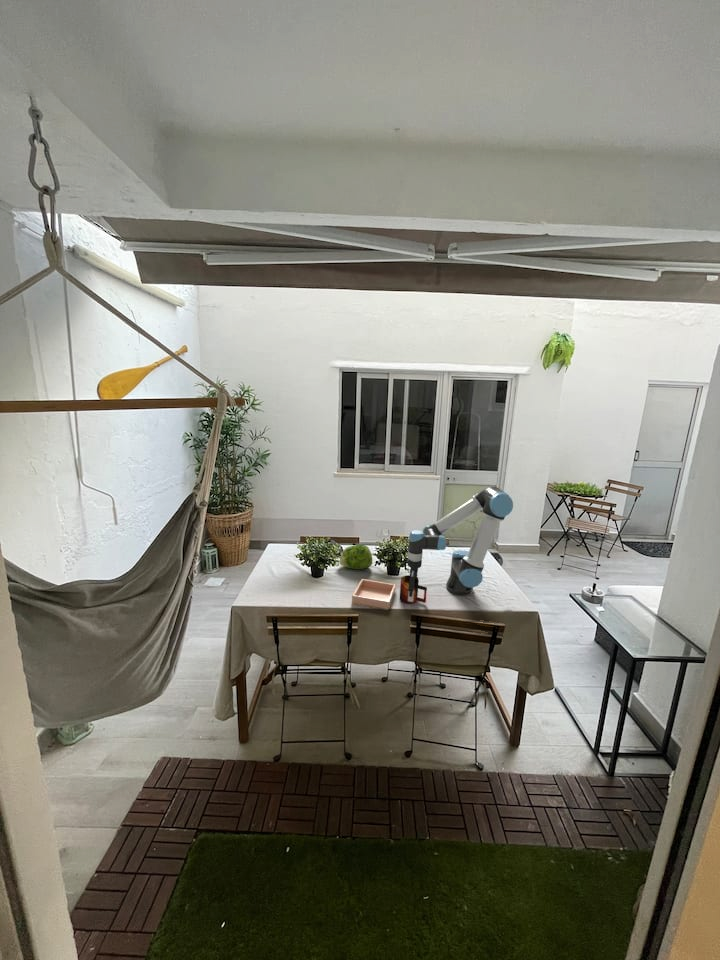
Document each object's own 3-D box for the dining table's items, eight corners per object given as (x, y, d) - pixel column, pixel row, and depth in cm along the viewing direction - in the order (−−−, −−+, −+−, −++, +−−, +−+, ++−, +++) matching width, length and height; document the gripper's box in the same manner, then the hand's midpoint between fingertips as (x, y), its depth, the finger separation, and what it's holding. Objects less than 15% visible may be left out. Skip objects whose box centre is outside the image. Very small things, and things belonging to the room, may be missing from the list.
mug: (425, 604, 219) (427, 584, 217) (400, 603, 220) (401, 583, 217) (423, 595, 229) (425, 576, 226) (398, 594, 229) (400, 574, 226)
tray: (395, 592, 231) (395, 584, 230) (388, 610, 213) (389, 602, 211) (361, 586, 236) (361, 578, 235) (351, 603, 217) (352, 595, 216)
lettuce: (342, 564, 269) (335, 546, 264) (372, 556, 269) (366, 536, 263) (343, 579, 255) (336, 559, 249) (375, 570, 254) (369, 550, 248)
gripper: (410, 549, 231) (408, 584, 236) (404, 567, 208) (401, 605, 213) (424, 551, 229) (421, 586, 234) (419, 569, 207) (416, 607, 212)
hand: (411, 595), depth 224 cm, fingers open, 12 cm apart
